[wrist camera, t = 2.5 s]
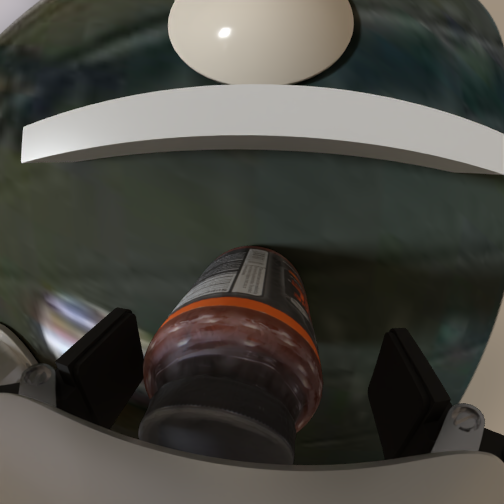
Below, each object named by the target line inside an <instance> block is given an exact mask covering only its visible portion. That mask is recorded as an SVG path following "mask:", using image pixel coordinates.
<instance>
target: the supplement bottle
mask: <svg viewBox="0 0 504 504" xmlns="http://www.w3.org/2000/svg"><path fill="white" fill-rule="evenodd" d="M143 376H144V383H145V388H146V391H147V393H148V396H149V398H150V403H149V407H148V409H147V411H146V413H145V415H144V417H143V419H142V421H141V423H140V426H139V432H138V435H139V440H141V441H145V442H148V443H152V444H155V445H159V446H163V447H167V448H171V449H175V450H179V451H184V452H188V453H193V454H198V455H203V456H209V457H215V458H221V459H228V460H235V461H243V462H253V463H265V464H280V465H293V463H294V455H295V439H296V433H297V432H298V431H300V430H301V429H302V428H303V427H304V426H305V425H306V424H307V423H308V422H309V420H310V419H311V418H312V417H313V415H314V413H315V412H316V409H317V407H318V406H319V403H320V400H321V396H322V387H323V378H322V370H321V364H320V359H319V352H318V347H317V343H316V337H315V332H314V328H313V325H312V321H311V316H310V310H309V305H308V302H307V297H306V291H305V288H304V285H303V282H302V280H301V278H300V276H299V274H298V272H297V270H296V269H295V268H294V266H293V265H292V264H291V263H290V262H289V261H288V260H287V259H286V258H284V257H283V256H282V255H281V254H279V253H277V252H275V251H273V250H271V249H268V248H263V247H258V246H242V247H237V248H234V249H231V250H229V251H227V252H225V253H223V254H222V255H220V256H219V257H218V258H216V259H215V260H214V261H213V262H212V263H211V264H210V265H209V266H208V268H207V269H206V270H205V271H204V273H203V274H202V275H201V276H200V277H199V279H198V280H197V281H196V282H195V284H194V285H193V286H192V287H191V289H190V290H189V291H188V292H187V293H186V295H185V296H184V298H183V299H182V300H181V301H180V303H179V304H178V305H177V306H176V308H175V309H174V310H173V311H172V313H171V314H170V315H169V317H168V318H167V319H166V320H165V322H164V323H163V325H162V326H161V327H160V329H159V330H158V331H157V333H156V334H155V335H154V337H153V339H152V341H151V342H150V344H149V346H148V349H147V351H146V354H145V357H144V362H143Z"/></svg>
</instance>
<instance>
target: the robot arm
mask: <svg viewBox="0 0 504 504" xmlns="http://www.w3.org/2000/svg"><path fill="white" fill-rule="evenodd" d="M55 362H56V365H57V367H58V368H57V369H56V370H54V368H53V367H52V366H50V365H48V364H44V363H42V364H38V362H37V361H36V359H35V358H34V356H33V355H32V354H31V352H30V351H29V350H28V349H27V347H26V346H25V345H24V344H23V342H22V341H21V340H20V339H19V338H18V337H17V336H16V335H15V334H14V333H13V332H12V331H11V330H10V329H8V328H7V327H6V326H4V325H2V324H0V504H504V435H501V434H499V433H496V432H493V431H491V430H488V429H486V428H484V426H485V419H484V416H483V414H482V413H481V411H480V410H479V409H478V408H476V407H475V406H473V405H470V404H466V403H461V404H457V405H454V406H452V405H451V403H450V400H451V399H450V397H449V395H448V394H447V392H446V390H445V389H444V387H443V385H442V383H441V382H440V380H439V379H438V377H437V375H436V374H435V372H434V370H433V369H432V367H431V366H430V364H429V362H428V361H427V359H426V358H425V356H424V354H423V353H422V351H421V350H420V348H419V347H418V345H417V344H416V342H415V341H414V339H413V338H412V336H411V335H410V333H409V332H408V330H407V329H406V328H392V329H390V331H389V332H387V333H386V334H385V336H384V339H383V342H382V346H381V350H380V353H379V356H378V360H377V363H376V366H375V369H374V372H373V375H372V378H371V381H370V384H369V387H368V397H369V401H370V404H371V408H372V411H373V415H374V418H375V422H376V426H377V429H378V433H379V437H380V441H381V445H382V449H383V453H384V457H385V460H382V461H373V462H363V463H352V464H336V465H280V464H265V463H253V462H243V461H235V460H228V459H221V458H215V457H209V456H203V455H198V454H193V453H188V452H184V451H179V450H175V449H171V448H167V447H163V446H159V445H155V444H152V443H148V442H145V441H141V440H138V439H135V438H132V437H129V436H126V435H123V434H120V433H117V432H114V431H111V430H109V429H110V428H111V426H112V425H113V423H114V422H115V420H116V419H117V417H118V416H119V414H120V413H121V411H122V410H123V408H124V407H125V405H126V404H127V402H128V401H129V399H130V398H131V396H132V395H133V393H134V392H135V390H136V389H137V387H138V386H139V384H140V383H141V381H142V380H143V378H144V376H143V362H144V357H143V352H142V347H141V342H140V337H139V332H138V326H137V321H136V316H135V315H134V314H132V311H131V310H129V309H123V308H115V309H114V310H113V311H112V312H111V313H109V314H108V315H107V316H106V317H105V318H104V319H102V320H101V321H100V322H99V323H98V324H97V325H96V326H94V327H93V328H92V329H91V330H90V331H89V332H88V333H86V334H85V335H84V336H83V337H82V338H81V339H80V340H78V341H77V342H76V343H75V344H74V345H73V346H72V347H71V348H70V349H68V350H67V351H66V352H65V353H64V354H63V355H62V356H61V357H60V358H59V359H57V360H56V361H55Z"/></svg>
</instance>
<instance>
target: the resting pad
mask: <svg viewBox="0 0 504 504" xmlns="http://www.w3.org/2000/svg"><path fill="white" fill-rule="evenodd" d="M353 27H354V18H353V13H352V9H351V6H350V4H349V1H348V0H175V2H174V4H173V6H172V8H171V11H170V15H169V21H168V31H169V37H170V40H171V43H172V45H173V47H174V49H175V51H176V52H177V54H178V55H179V56H180V57H181V59H182V60H183V61H184V62H185V63H186V64H187V65H188V66H189V67H190V68H192V69H193V70H195V71H196V72H197V73H199V74H201V75H202V76H204V77H206V78H208V79H211V80H213V81H216V82H218V83H222V84H226V85H236V84H275V85H292V84H297V83H300V82H302V81H305V80H308V79H310V78H312V77H314V76H317V75H319V74H320V73H322V72H323V71H325V70H326V69H328V68H329V67H331V66H332V65H333V64H334V63H335V62H336V61H337V60H338V59H339V58H340V57H341V55H342V54H343V53H344V51H345V49H346V48H347V46H348V44H349V42H350V39H351V37H352V34H353Z"/></svg>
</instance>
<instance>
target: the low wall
mask: <svg viewBox="0 0 504 504" xmlns="http://www.w3.org/2000/svg"><path fill="white" fill-rule="evenodd" d="M222 149H249V150H284V151H303V152H317V153H329V154H340V155H349V156H358V157H367V158H374V159H382V160H388V161H395V162H401V163H407V164H413V165H419V166H424V167H429V168H434V169H439V170H444V171H448V172H453V173H479V174H496V175H504V134H502V133H500V132H498V131H496V130H493V129H491V128H488V127H486V126H483V125H481V124H478V123H476V122H473V121H470V120H467V119H465V118H462V117H459V116H456V115H453V114H450V113H447V112H443V111H440V110H437V109H433V108H430V107H426V106H422V105H419V104H415V103H411V102H407V101H402V100H398V99H393V98H388V97H383V96H378V95H373V94H367V93H361V92H355V91H348V90H340V89H332V88H322V87H311V86H297V85H275V84H236V85H214V86H200V87H189V88H180V89H171V90H164V91H157V92H150V93H144V94H138V95H133V96H128V97H123V98H118V99H113V100H109V101H105V102H100V103H96V104H92V105H89V106H85V107H81V108H78V109H74V110H71V111H68V112H64V113H61V114H58V115H55V116H52V117H49V118H46V119H43V120H41V121H38V122H35V123H33V124H30V125H27V126H25V127H23V138H22V155H21V163H37V162H79V161H85V160H92V159H99V158H106V157H114V156H123V155H133V154H143V153H155V152H169V151H188V150H222Z"/></svg>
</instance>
